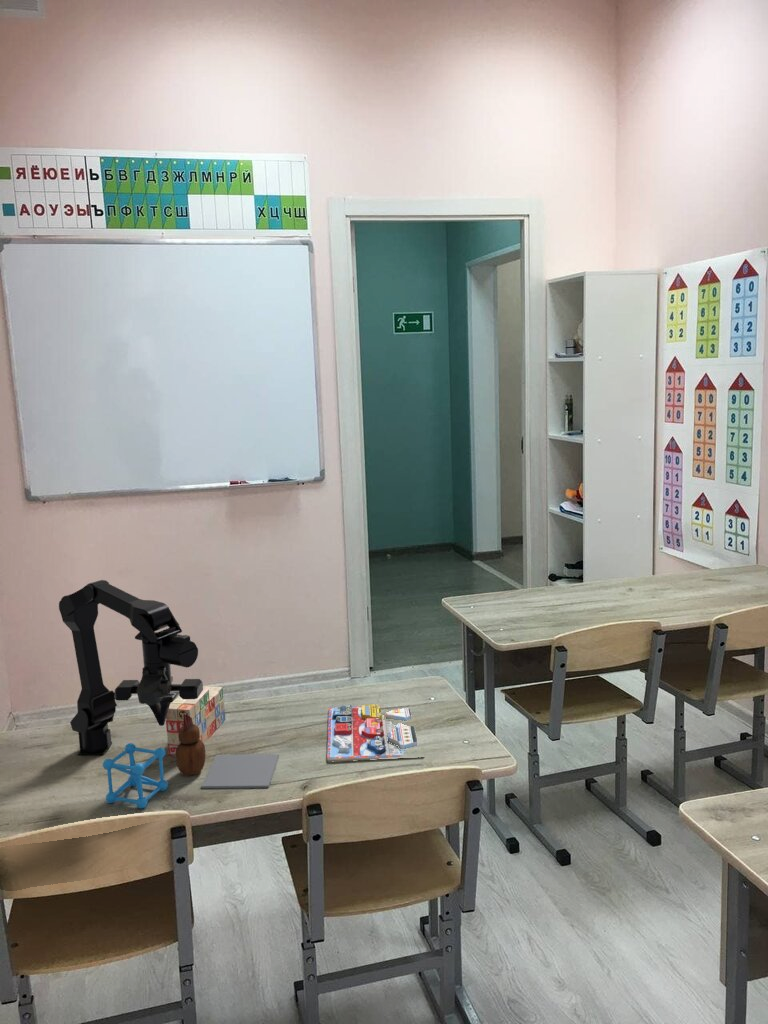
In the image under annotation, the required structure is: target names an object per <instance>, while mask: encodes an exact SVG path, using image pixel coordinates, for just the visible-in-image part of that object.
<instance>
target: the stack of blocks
mask: <svg viewBox="0 0 768 1024" xmlns="http://www.w3.org/2000/svg"><path fill="white" fill-rule="evenodd" d="M225 708H226V707H225V698H224V687H223V686H206V685H205V686H204V685H203V691H202V692H201V694H200V695H199V697H198V698H197V699H182V698H181V697H180V696H179V695H177V697H176V698H175V700H174V701H173V702H171V704H170V706H169V710H168V713H167V716H166V720H165V724H166V725H165V726H166V734H167V735H166V736H167V748H168V749H167V750H168V756H175V754H176V749H177V747H178V745H179V744H180V743H181V742H180V741H179V737H178V733H179V730H180V728H181V727H182V726H184V716H183V715H184V714H185V717H186V713H188V716H190V717H192V721H193V724H194V725H197V726H198V727H199V730H200V737H199V739H200V740H201V741H202V742H203V743H204V745H205V743H207V742H208V739H210V737H211V736H212V735H213V734H214V733H215V731H217V730H218V728H219V727H220V726H221V725H222V724H223V722H225V721H226V710H225Z"/></svg>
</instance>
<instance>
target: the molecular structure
mask: <svg viewBox="0 0 768 1024" xmlns="http://www.w3.org/2000/svg"><path fill="white" fill-rule="evenodd" d="M124 746H125V747H124V751H122V752H120V753H119V754H118V755H116V756H115V757H114V758H106V759H104V760H103V762H102V767H103V769H104V770H105V771H107V773H106V774H107V781H108V782H107V783H108V793H107V794H106V795H105V801H106V802H107V803H109V804H114V803H115V802H116V801H118V802H119V801H120V802H125V803H131V804H136V807H137V808H139V809H145V808H146V807H147V806H148V800H150V798H152V797H153V796H154V795H156V794H158V792H159V791H160V792H164V791H166V790H167V789H168V787H169V783H168V781H167V780H165V778H164V767H163V766H164V765H163V764H164V763H163V758H164V757H165V756H166V750H165V748H163V747H161V746H160V747H157V748H156V749H147V748H142V747H137V746H136V744H134V742H133V743H132V742H129V743H127V744H126V745H124ZM135 752H141V753H147V754H153V756H151V757H150V758H149V759H148V760H146V761H145V762H143V763H141V762H138V763H136V760H135V755H134V753H135ZM126 754H128V756H129V765H128V764H121V763H115V762H116V761H118V760H120V759H121V758H122V757H124V756H125V755H126ZM157 759H158V765H159V766H158V769H159V779H160V780H158V781H157V780H154V779H151V778H149V777H147V776H144V775H143V774H144V773H145V770H146V769H147V768H148V767H149V766H150V765H151V764H152V763H153V762H154V761H156V760H157ZM112 769H115V770H117V771H120V772H123V773H125V774H127V775H130V776H129V777H128V778H127V780H126V781H125V782H124V783H123V784H122V785H121V786H119V788H117V790H115V791H113V780H112V779H113V778H112ZM143 785H147V786H154V787H156V788H155V789H154V790H152V792H150V793H149V794H148V795H146V796H144V791H143ZM129 786H131V787H135V786H136V790H137V796H138V798H137V799H133V798H128V797H123V796H118V795H119V794H121V793H122V792H123V791H124V790H126V789H127V788H128V787H129Z"/></svg>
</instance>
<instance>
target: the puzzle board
mask: <svg viewBox="0 0 768 1024" xmlns="http://www.w3.org/2000/svg"><path fill="white" fill-rule="evenodd" d="M380 706H381V705H379V704H378V703H377V704H376V703H375V704H374V703H372V704H363V705H361V706H352V704H350V705H349V704H347V705H340V706H335V707H334V706H332V707H328V716H327V717H328V718H327V720H328V721H327V747H326V749H327V751H326V755H327V756H326V760H327V763H329V762H331V763H336V762H335V761H353V760H370V759H379V758H388V757H400V755H404V754H403V753H404V752H405V751H406V750H404V751H401V750H400V749H406V748H410V747H414V746H418V741H417V736H416V731H415V727H414V726H407V725H404V724H402V723H398V724H397V725H394V724H392V722H391V721H392V720H383V719H384V715H382V714H381V713H380V712H381V707H380ZM361 710H362V712H361ZM411 716H412V715H411V710H410V709H409V708H402V709H395V710H391V711H389V712H386V713H385V717H386V719H394V720H402V721H403V720H404V721H407V720H409V719H411ZM395 726H396V727H395ZM387 737H388V741H387ZM389 742H390V743H389ZM391 743H392V744H391ZM394 744H395V745H394ZM396 745H398V746H399V748H400V749H399V748H398V746H396ZM400 752H402V753H400ZM332 761H334V762H332ZM353 762H354V761H353Z"/></svg>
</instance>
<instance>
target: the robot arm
mask: <svg viewBox="0 0 768 1024" xmlns="http://www.w3.org/2000/svg"><path fill="white" fill-rule="evenodd" d="M99 604H100V605H102V606H104V607H106V608H108V609H110V610H112V611H114V612H115V613H118V614H120V615H122V616H124V617H125V618H127V619H128V620H129V622H130V625H131V626H132V627H133V628H134V629H136V630H137V631H138V633H137V634H136V635H135V636H134V639H135V640H138V641H141V646H142V658H143V659H142V660H143V667H142V673H141V674H142V676H141V678H140V681H139V680H138V679H123V680H122V681H121V682H120V683H119V684H118V685H117V686H116V688H115V689H114V690H109V689H108V688H107V686H105V684H104V681H103V674H102V669H101V667H102V666H101V663H100V655H99V651H98V645H97V640H96V634H95V624H96V621H97V619H98V617H99ZM58 610H59V613H60V616H61V619H62V622H63V624H64V625H66V627H67V628H68V629H69V630H70V631H71V635H72V639H73V640H72V641H73V646H74V652H75V658H76V663H77V670H78V674H79V681H80V685H81V686H80V687H81V690H80V692H79V696H78V697H77V698H78V699H77V713H76V714H75V715H74V717H73V718H72V719H71V721H70V722H69V723H70V726H71V729H72V731H74V732H77V734H78V745H79V750H78V751H77V753H76V754H77V755H78V756H103V755H105V754H106V752H107V751H108V749H110V747H111V745H112V744H113V741H112V736H111V735H112V734H111V729H110V728H109V723H112V722H113V721H114V716H115V713H116V710H117V706H118V705H117V703H116V701H129V699H130V698H132V696H133V695H136V694H137V698H138V702H139V704H145V705H147V706H148V707H149V708H150V710H151V712H152V714H153V716H154V717H155V720H156V722H157V723H158V726H159V727H160V726H161V727H163V726H164V725H165V724H166V716H167V713H168V710H169V706H170V704H171V703H172V702H173V701H174V700H175V699H176V698H177V697H178V696H180V697H181V698H182V699H197V698H198V697H199V695H200V694H201V692H202V691H203V686H204V684H203V681H202V680H201V679H200V678H185V679H184V680H183V682H182V683H181V684H180V683H173V681H174V678H173V676H172V670H171V669H172V667H171V665H174V666H179V667H182V668H190V667H192V666H193V665H194V664H195V663H196V661H197V659H198V655H199V648H198V647H197V644H196V643H195V642H194V641H191V636H190V635H188V634H187V635H186V634H183V635H182V634H181V633H182V632H183V630H182V627H180V623H179V622H178V621H177V619H176V618H175V616H174V614H173V612H172V611H171V609H170V607H169V606H168V605H167V603H165V602H161V601H157V600H153V599H141V598H138V597H136V596H134V595H132V594H131V593H128V592H127V591H124V590H122V589H121V588H119V587H116V586H114V585H112V584H110V583H109V582H108V581H107V580H106V579H105V580H104V579H100V580H97V581H94V582H93V581H92V582H90V583H87V584H86V585H84V586H83V587H82V588H80V589H79V590H77V591H75V592H73V593H70V594H67V595H64V596H62V597H61V599H60V601H59V602H58ZM167 627H168V628H167ZM165 628H166V629H165ZM162 629H163V630H162ZM159 630H161V631H159Z"/></svg>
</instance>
